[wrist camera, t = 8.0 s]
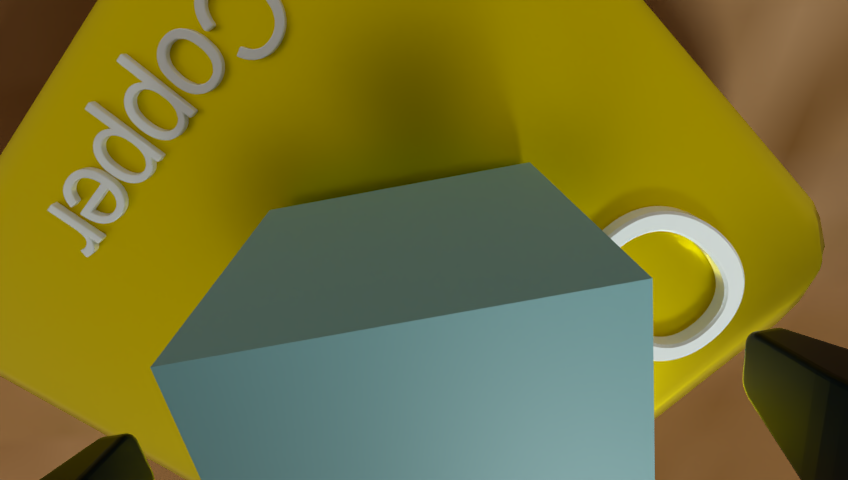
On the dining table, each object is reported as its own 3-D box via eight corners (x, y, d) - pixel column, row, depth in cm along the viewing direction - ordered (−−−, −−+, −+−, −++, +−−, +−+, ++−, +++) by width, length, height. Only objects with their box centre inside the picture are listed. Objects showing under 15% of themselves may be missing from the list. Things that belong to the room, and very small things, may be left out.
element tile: (354, -234, 11) (321, -418, 7) (747, 202, 15) (890, 269, 11) (26, 246, 15) (-137, 336, 10) (412, 493, 19) (415, 634, 14)
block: (551, 378, 11) (656, 612, 7) (332, 416, 12) (287, 671, 7) (529, 162, 10) (652, 278, 5) (269, 210, 10) (150, 368, 5)
